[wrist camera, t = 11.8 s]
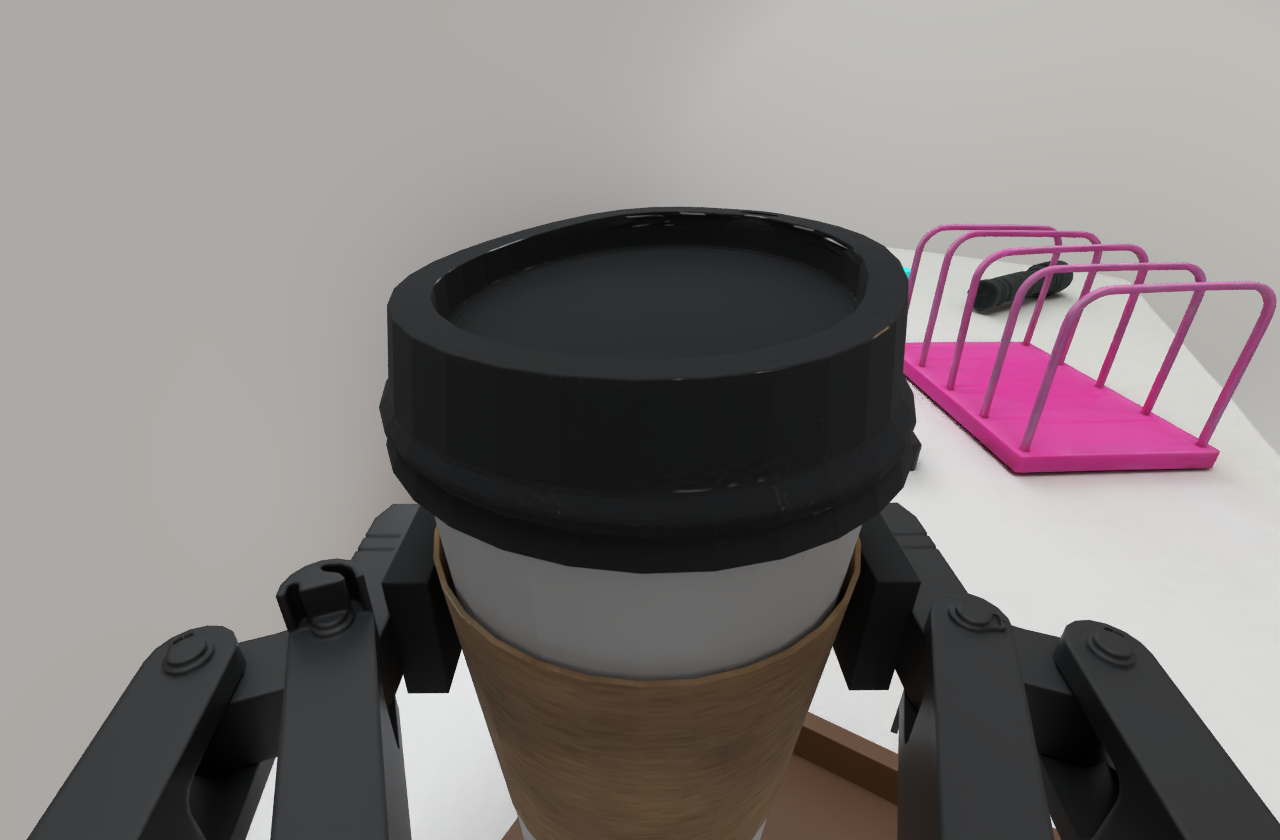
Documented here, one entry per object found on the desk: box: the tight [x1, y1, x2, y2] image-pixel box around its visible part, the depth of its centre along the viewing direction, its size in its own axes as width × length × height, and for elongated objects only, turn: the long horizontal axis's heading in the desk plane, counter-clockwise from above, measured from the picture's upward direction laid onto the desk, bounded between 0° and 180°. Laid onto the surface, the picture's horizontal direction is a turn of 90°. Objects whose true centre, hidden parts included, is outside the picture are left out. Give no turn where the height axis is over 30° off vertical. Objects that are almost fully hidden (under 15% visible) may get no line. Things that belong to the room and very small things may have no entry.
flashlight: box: [968, 261, 1073, 311], centre depth 90 cm, size 5×21×5 cm, turn 123°
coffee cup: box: [379, 207, 916, 840], centre depth 13 cm, size 8×8×15 cm
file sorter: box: [903, 224, 1276, 473], centre depth 57 cm, size 17×25×16 cm
